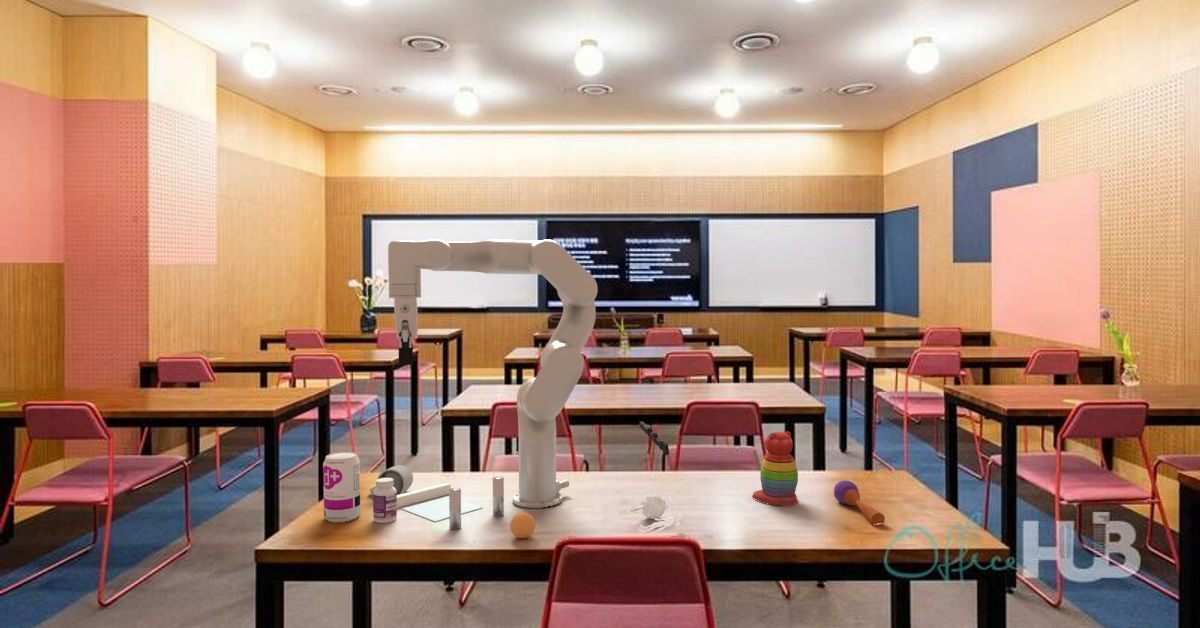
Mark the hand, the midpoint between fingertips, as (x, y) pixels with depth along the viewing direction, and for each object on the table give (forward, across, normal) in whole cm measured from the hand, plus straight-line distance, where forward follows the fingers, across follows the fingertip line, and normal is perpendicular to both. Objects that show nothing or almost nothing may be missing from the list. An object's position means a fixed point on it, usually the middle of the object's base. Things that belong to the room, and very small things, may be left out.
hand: (406, 362), depth 177 cm
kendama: (+37, -28, -106) cm, 116 cm away
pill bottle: (+37, -5, +5) cm, 38 cm away
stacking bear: (+37, -14, -92) cm, 100 cm away
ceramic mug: (+37, +16, +5) cm, 40 cm away
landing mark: (+37, 0, -8) cm, 38 cm away
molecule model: (+37, -20, -56) cm, 70 cm away
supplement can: (+37, -1, +15) cm, 40 cm away
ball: (+34, -25, -24) cm, 49 cm away
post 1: (+37, -15, -10) cm, 41 cm away
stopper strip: (+37, +8, -3) cm, 38 cm away
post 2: (+37, -8, -21) cm, 43 cm away
